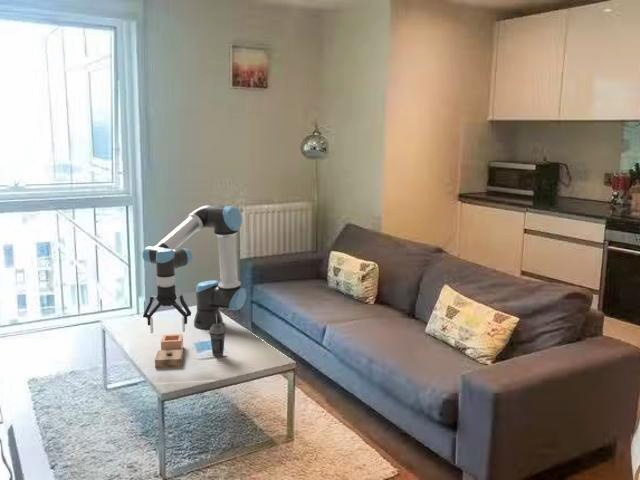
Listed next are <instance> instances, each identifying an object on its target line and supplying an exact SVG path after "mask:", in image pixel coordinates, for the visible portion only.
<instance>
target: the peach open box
mask: <svg viewBox="0 0 640 480" xmlns="http://www.w3.org/2000/svg"><path fill="white" fill-rule="evenodd" d="M182 349H183V350H184V336H183V334H181V333H177V334H176V333H175V334H163V335H162V338H161V341H160V350H182Z"/></svg>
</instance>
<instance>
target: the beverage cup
mask: <svg viewBox="0 0 640 480" xmlns="http://www.w3.org/2000/svg"><path fill="white" fill-rule="evenodd" d="M225 336H226V328H225V326H224V324H223V325H222V324H220V323H217V314H216V324H213V325H212V326H211V328H210V329H209V337H210V341H211V342H210V343H211V352H212V357H215V358H217V357H221V358H222V356H224V350H225Z"/></svg>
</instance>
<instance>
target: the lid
mask: <svg viewBox="0 0 640 480" xmlns="http://www.w3.org/2000/svg"><path fill="white" fill-rule="evenodd" d="M183 360H184V348H183V349H182V350H161V349H160V350H157V352H156V356H155V358H154V368H155V369H158V368H159V369H161V367H163V368H181V367H182V366H181V365H183Z"/></svg>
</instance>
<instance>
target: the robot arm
mask: <svg viewBox="0 0 640 480" xmlns="http://www.w3.org/2000/svg"><path fill="white" fill-rule="evenodd" d="M242 221H243V218H242V213H241V211H240V210H239V209H238V208H237V207H235V206H231V205H221V204H220V205H218V204H206V205H203V206H200V207H198V208H197V209H195V210H193V211H192V212H191V213H189V214H187V216H186V217H185V220H184V221H183V222H181V223H180V224H179V225H178V226H177V227H175V228H174V229H173V230H172V231H170V232H169V233H168V234H166V236H165V237H164V238H162V239H161V240H160V241H159V242H158V243H156V244H155V245H154V246H153V245H152V246H151V245H149V246H146V247H144V249H143V251H142V259H143V261H144V262H145V263H149V264H155V265H156V285H157V286H156V289H157V290H156V291H157V295H156V296H155V295H153V294H152V295H150V298H149V301H148V305H147V306H146V309H145V311H144V313H143V315H142V317H143V318H146V320H147V325H148V326H149V327H150V334H153V333H154V317H153V315H154V314H155V313H156V312H157V310H159V308H160V307H161V306H162V307H171V306H172V307H173V308H174V309H176V310H177V311H178V312H179V314H181V316H182V319H181V320H182V321H181V322H182V324H181V325H182V333H185V331H186V325H187V324H188V318H189V317H191V315H192V311H191V310H190V308H189V306H188V304H187V303H186V301H185V299H184V295H183V294H182V293H181V294H180V295H177V294H176V285H175V284H176V274H175V270H176V269H178V268H182V267H184V266H188V265H189V264H190V263H192V260H193V253H192V251H191V250H190V249H189V248H187V247H186V248H179V247H180V246H181V245H183V244H184V243H185V242H186V241H187V240H189V238H191V236H193V235H194V234H195V233H196V232H200V231H202V230H203V229H208V228H209V229H213V234H214V235H216V237H217V245H218V247H217V249H218V261H219V277H220V281H218V280H215V279H213V280H205V281H202V282H201V281H200V282H198V283H197V285H196V287H195V288H196V290H195V295H196V296H195V297H196V312H195V316H194V318H193V319H194V320H193V326H194V327H195V328H196V329H202V330H210V328H211V326H212V325H213V324H216V314H217V323H220V324H222V325H223V326H224V319H223V316H222V314H221V310H220V309H224V310H225V309H226V310H230V311H238V310H240V309H241V308H242V307H243V305H245V301H246V298H247V291H246V289H245V288H244V287H242V282H241V281H240V280H238V263H237V262H238V260H237V249H236V248H237V247H236V235H237V233H239V231H238V230H240V229H241V227H242V224H243V222H242ZM178 248H179V249H178ZM155 300H157V302H158V303H157V304H156V305H155V306H154V308H153V309H152V310H151V311H150V309H151V307H152V305H153V302H155ZM177 300H178V301H179V302H180V304H181V305H182V307H183V308H182V307H181V306H180V305H179V303H177ZM149 311H150V312H149ZM148 312H149V313H148Z"/></svg>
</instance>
